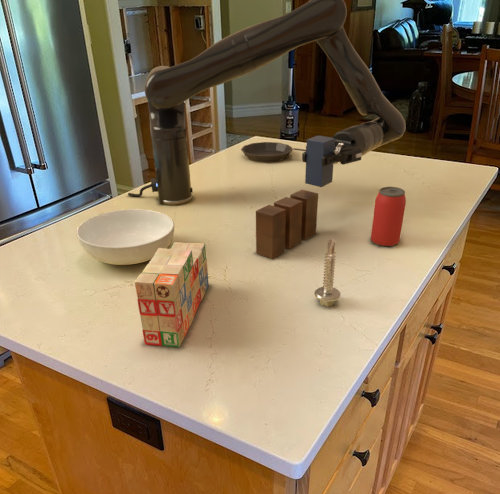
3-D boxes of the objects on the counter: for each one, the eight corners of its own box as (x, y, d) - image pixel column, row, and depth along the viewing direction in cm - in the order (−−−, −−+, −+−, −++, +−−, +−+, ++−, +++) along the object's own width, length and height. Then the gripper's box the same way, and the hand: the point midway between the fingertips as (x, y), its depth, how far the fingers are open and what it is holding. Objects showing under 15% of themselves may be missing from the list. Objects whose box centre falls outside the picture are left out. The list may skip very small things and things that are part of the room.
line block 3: (300, 229, 125) (302, 189, 120) (316, 234, 123) (318, 193, 117) (289, 235, 123) (290, 194, 117) (304, 240, 120) (306, 199, 114)
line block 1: (268, 246, 118) (269, 204, 112) (284, 251, 115) (285, 209, 110) (256, 253, 115) (255, 210, 109) (272, 259, 112) (272, 215, 107)
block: (316, 178, 123) (318, 135, 118) (332, 182, 121) (335, 138, 115) (305, 183, 120) (306, 139, 115) (321, 187, 118) (324, 142, 112)
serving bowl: (95, 285, 104) (88, 254, 100) (73, 247, 119) (67, 219, 115) (191, 262, 112) (188, 233, 108) (159, 229, 127) (155, 202, 123)
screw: (344, 306, 96) (321, 312, 94) (331, 294, 100) (309, 299, 98) (351, 241, 88) (326, 247, 87) (336, 231, 92) (312, 236, 91)
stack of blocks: (179, 283, 104) (173, 226, 97) (209, 285, 103) (205, 228, 96) (144, 345, 87) (133, 280, 80) (180, 348, 86) (172, 283, 79)
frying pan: (255, 147, 187) (255, 136, 185) (338, 157, 175) (339, 146, 173) (231, 160, 175) (231, 148, 172) (319, 172, 162) (320, 160, 160)
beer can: (402, 238, 120) (410, 187, 113) (396, 249, 115) (404, 197, 109) (374, 233, 123) (380, 184, 116) (367, 244, 118) (373, 193, 111)
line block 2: (285, 237, 122) (286, 196, 116) (301, 242, 119) (302, 201, 113) (273, 244, 119) (273, 202, 113) (289, 249, 116) (290, 207, 111)
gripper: (329, 123, 128) (288, 137, 117) (380, 131, 120) (341, 147, 109) (327, 153, 132) (287, 170, 121) (376, 163, 124) (339, 182, 114)
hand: (313, 159), depth 116 cm, fingers closed on block, 4 cm apart
